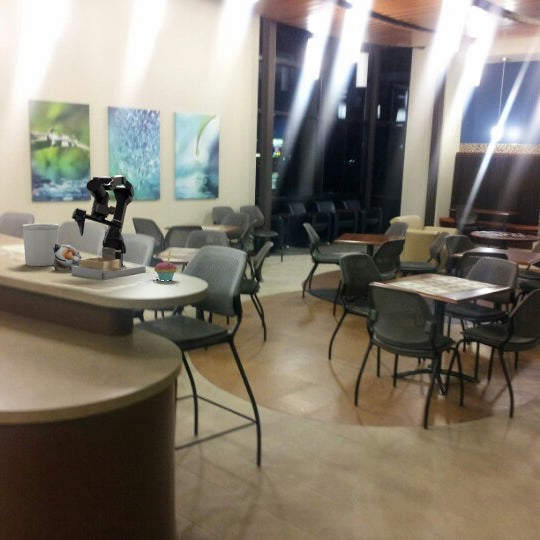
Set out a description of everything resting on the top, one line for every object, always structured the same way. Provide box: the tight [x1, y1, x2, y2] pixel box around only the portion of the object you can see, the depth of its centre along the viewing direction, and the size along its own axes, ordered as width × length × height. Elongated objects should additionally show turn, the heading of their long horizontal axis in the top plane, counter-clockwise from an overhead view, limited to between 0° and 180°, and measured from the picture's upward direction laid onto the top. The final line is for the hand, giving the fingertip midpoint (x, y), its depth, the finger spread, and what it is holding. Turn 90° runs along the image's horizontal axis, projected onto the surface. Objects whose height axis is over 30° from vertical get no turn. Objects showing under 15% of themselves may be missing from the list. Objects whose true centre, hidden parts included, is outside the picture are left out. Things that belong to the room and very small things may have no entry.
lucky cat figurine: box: [53, 244, 84, 271], centre depth 242 cm, size 15×12×14 cm
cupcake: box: [153, 249, 178, 282], centre depth 227 cm, size 9×8×12 cm
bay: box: [71, 265, 147, 280], centre depth 233 cm, size 23×17×4 cm
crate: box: [79, 247, 122, 272], centre depth 229 cm, size 11×12×10 cm
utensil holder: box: [21, 223, 60, 267], centre depth 258 cm, size 15×15×18 cm
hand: (93, 239), depth 230 cm, fingers open, 9 cm apart
